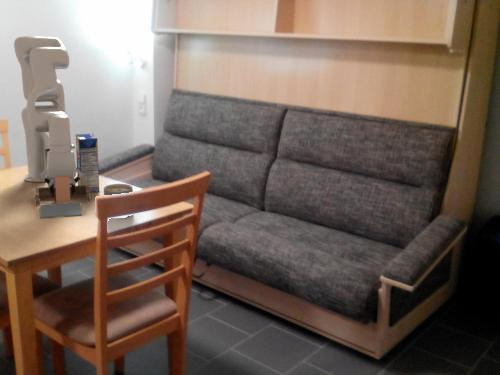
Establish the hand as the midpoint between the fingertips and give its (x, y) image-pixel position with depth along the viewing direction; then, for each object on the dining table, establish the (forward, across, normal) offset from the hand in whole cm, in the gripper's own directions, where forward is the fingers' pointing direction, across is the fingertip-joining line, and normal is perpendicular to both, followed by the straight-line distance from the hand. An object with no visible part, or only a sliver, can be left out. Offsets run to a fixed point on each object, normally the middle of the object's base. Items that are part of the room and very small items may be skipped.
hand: (63, 194), depth 205 cm
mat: (+3, +1, +12) cm, 12 cm away
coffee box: (+3, +1, -22) cm, 22 cm away
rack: (+3, 0, 0) cm, 3 cm away
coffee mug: (+3, -19, +22) cm, 29 cm away
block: (+3, 0, 0) cm, 3 cm away
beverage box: (+3, -10, -14) cm, 17 cm away
